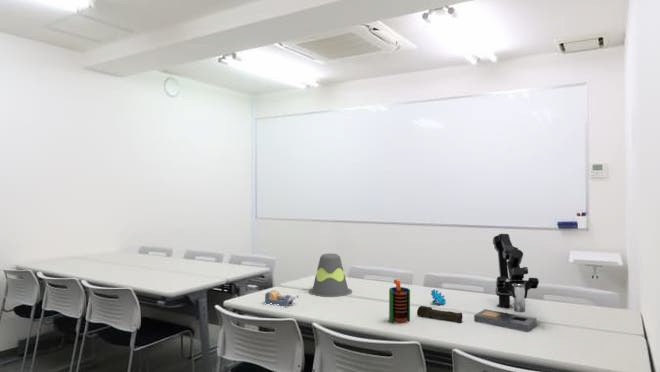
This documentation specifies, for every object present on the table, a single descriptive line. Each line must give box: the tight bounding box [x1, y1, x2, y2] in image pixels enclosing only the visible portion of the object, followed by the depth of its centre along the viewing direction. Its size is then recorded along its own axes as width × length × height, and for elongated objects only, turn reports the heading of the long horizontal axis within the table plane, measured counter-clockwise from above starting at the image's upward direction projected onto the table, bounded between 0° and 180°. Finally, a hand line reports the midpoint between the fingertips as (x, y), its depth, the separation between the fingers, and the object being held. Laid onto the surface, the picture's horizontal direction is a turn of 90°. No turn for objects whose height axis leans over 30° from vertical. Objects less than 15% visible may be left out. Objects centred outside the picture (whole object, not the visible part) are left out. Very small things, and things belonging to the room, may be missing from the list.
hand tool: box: [416, 305, 463, 324], centre depth 216 cm, size 23×5×6 cm, turn 58°
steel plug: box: [512, 283, 526, 313], centre depth 205 cm, size 5×5×13 cm
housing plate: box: [473, 308, 538, 333], centre depth 208 cm, size 14×25×3 cm, turn 49°
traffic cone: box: [308, 253, 353, 298], centre depth 275 cm, size 28×28×24 cm
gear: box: [430, 289, 447, 306], centre depth 245 cm, size 11×6×10 cm
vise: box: [264, 289, 300, 307], centre depth 245 cm, size 18×10×7 cm, turn 63°
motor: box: [388, 278, 411, 324], centre depth 213 cm, size 10×9×20 cm
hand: (520, 297), depth 204 cm, fingers closed on steel plug, 5 cm apart
